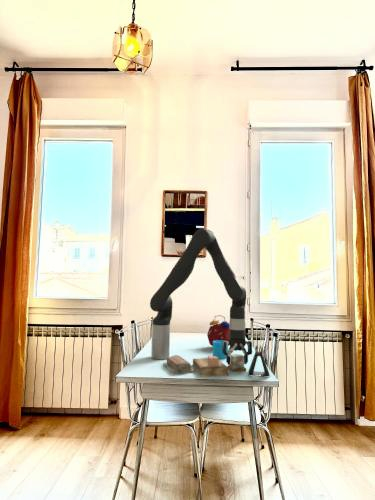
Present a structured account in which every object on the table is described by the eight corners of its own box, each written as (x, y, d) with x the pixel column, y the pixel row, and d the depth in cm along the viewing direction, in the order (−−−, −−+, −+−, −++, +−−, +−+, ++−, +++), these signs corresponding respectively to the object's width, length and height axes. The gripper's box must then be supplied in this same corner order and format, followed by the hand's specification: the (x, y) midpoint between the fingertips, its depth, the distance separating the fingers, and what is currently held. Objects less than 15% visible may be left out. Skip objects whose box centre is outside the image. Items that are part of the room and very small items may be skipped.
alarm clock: (232, 349, 201) (232, 315, 202) (223, 351, 194) (223, 316, 196) (213, 345, 211) (213, 313, 213) (204, 347, 204) (204, 314, 206)
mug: (226, 359, 175) (226, 343, 176) (211, 358, 178) (211, 342, 178) (230, 354, 187) (230, 339, 188) (215, 353, 189) (215, 338, 190)
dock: (201, 376, 144) (201, 367, 144) (192, 365, 162) (192, 357, 163) (228, 375, 146) (228, 366, 146) (216, 364, 164) (216, 356, 165)
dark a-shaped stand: (268, 373, 150) (268, 345, 151) (269, 376, 144) (269, 348, 146) (248, 371, 152) (248, 344, 153) (248, 375, 146) (248, 347, 147)
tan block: (233, 372, 151) (233, 357, 152) (228, 367, 159) (228, 353, 160) (246, 371, 152) (246, 357, 153) (240, 367, 160) (240, 353, 161)
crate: (209, 367, 146) (209, 358, 146) (207, 365, 150) (207, 356, 150) (218, 367, 147) (218, 358, 147) (216, 365, 151) (216, 356, 151)
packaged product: (195, 362, 150) (173, 363, 146) (194, 373, 149) (173, 375, 146) (182, 353, 167) (163, 354, 163) (182, 363, 166) (162, 365, 163)
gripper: (224, 329, 153) (224, 366, 151) (254, 329, 155) (254, 365, 154) (220, 327, 160) (220, 362, 158) (248, 326, 162) (248, 361, 161)
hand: (237, 363), depth 156 cm, fingers open, 7 cm apart
